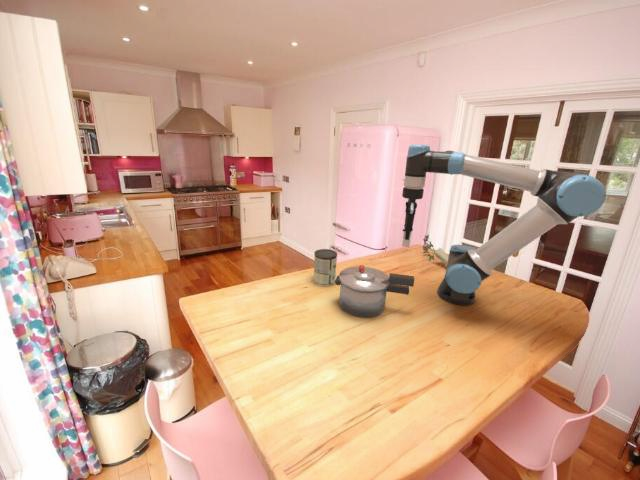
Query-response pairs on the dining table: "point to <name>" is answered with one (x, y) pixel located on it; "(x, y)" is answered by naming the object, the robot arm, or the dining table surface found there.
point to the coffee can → (325, 267)
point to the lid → (371, 279)
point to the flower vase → (438, 253)
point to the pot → (366, 300)
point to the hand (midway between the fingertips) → (405, 246)
